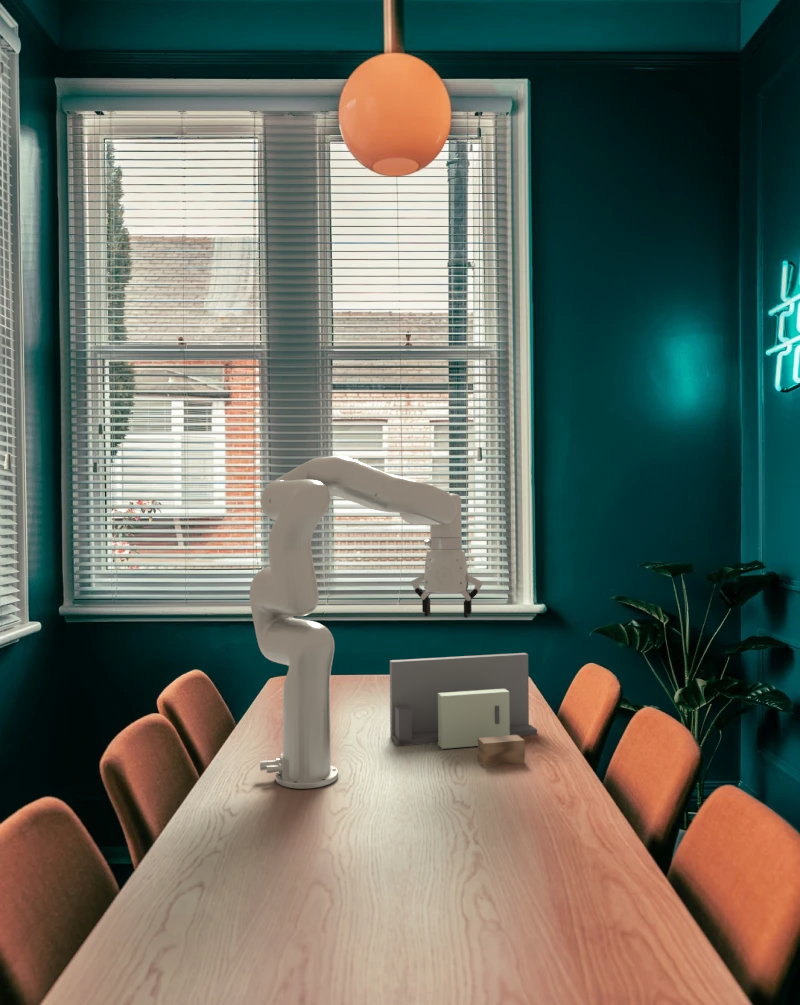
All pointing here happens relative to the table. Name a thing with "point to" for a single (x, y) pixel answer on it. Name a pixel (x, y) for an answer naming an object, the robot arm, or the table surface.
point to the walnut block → (501, 750)
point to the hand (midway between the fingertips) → (446, 616)
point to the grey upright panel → (430, 676)
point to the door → (472, 716)
